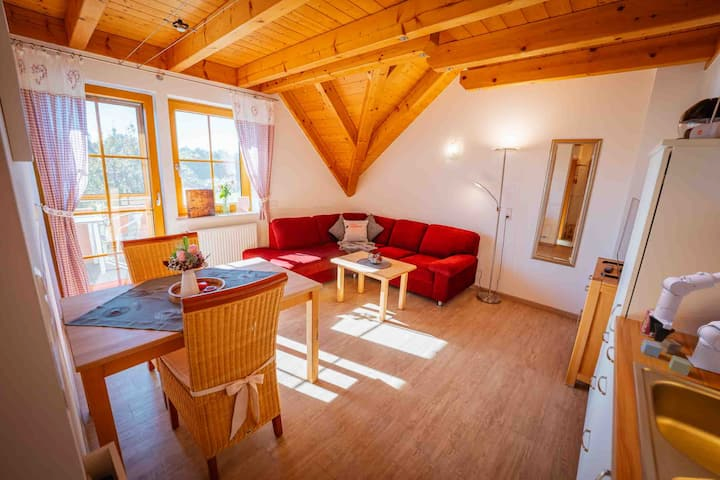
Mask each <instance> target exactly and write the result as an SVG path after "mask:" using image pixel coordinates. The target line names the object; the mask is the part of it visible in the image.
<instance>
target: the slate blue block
mask: <svg viewBox="0 0 720 480" xmlns="http://www.w3.org/2000/svg"><path fill="white" fill-rule="evenodd" d="M640 350H641V353H642V354H644V355H647V356H650V357H653V358H656V359H658V358H659V357H660V355H661V354H660V353H661V351H662V350H661V347H660V345H659V342H657V341H651V340H648V339H645V338H643V341H642V343H641V346H640Z"/></svg>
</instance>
